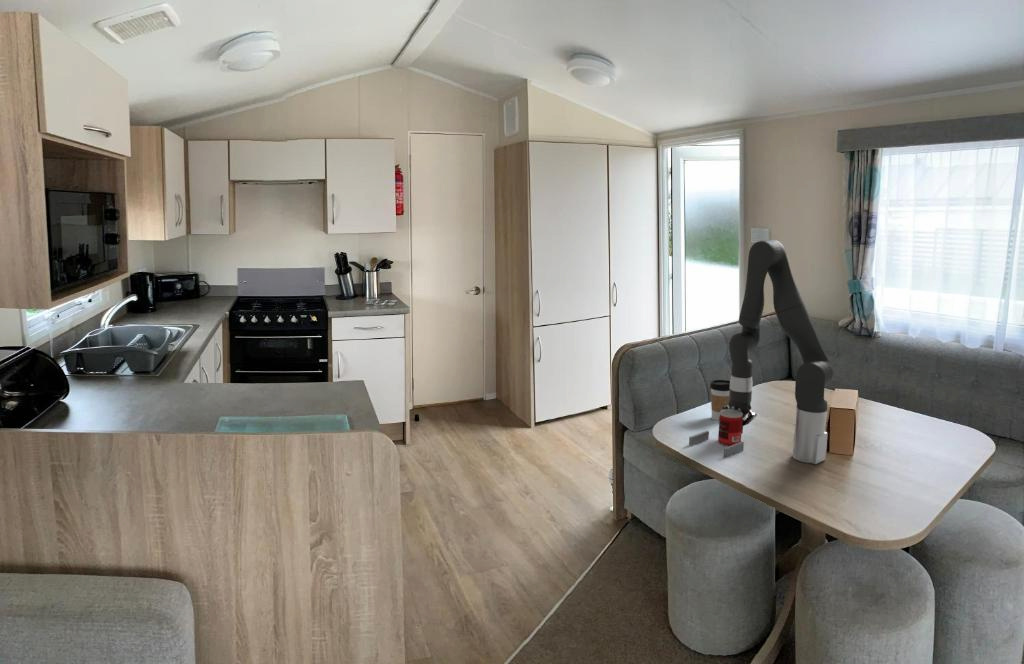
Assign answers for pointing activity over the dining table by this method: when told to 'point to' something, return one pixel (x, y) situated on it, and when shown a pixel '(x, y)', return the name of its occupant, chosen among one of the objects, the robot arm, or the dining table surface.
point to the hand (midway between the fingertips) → (737, 434)
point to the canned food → (730, 427)
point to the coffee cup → (719, 396)
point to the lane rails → (727, 451)
